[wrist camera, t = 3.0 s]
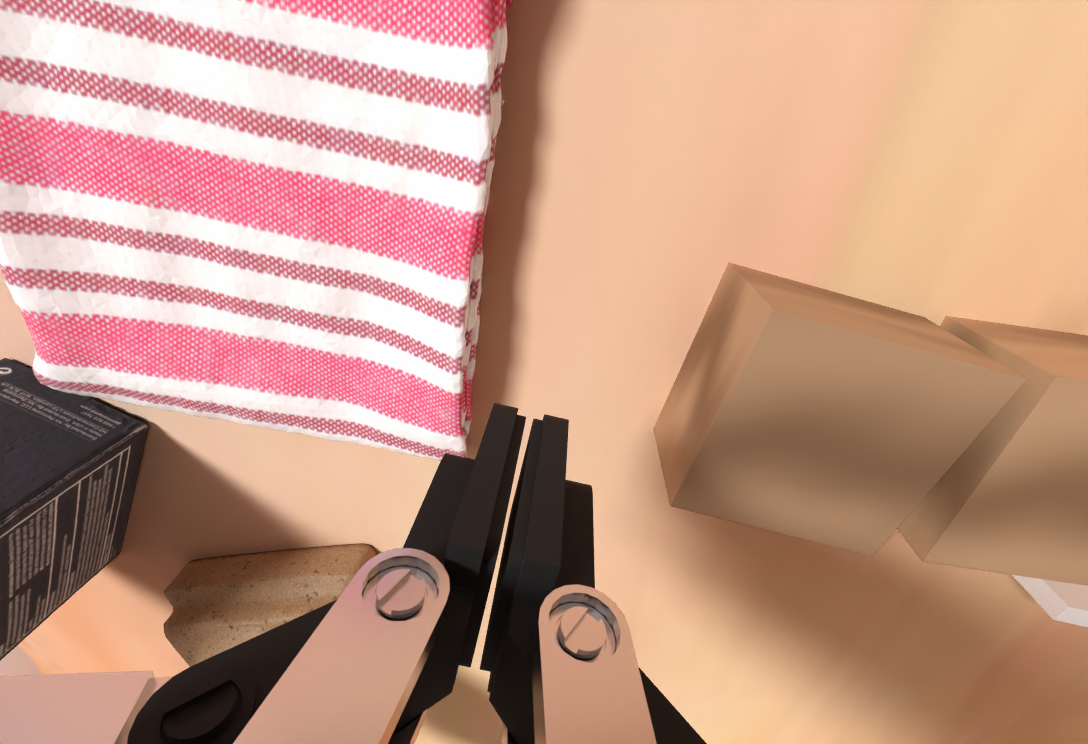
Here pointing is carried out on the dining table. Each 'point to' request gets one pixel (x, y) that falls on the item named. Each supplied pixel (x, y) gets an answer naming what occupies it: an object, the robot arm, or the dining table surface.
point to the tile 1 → (820, 411)
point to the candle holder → (254, 594)
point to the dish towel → (255, 206)
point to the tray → (1059, 599)
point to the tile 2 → (1017, 466)
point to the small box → (58, 495)
